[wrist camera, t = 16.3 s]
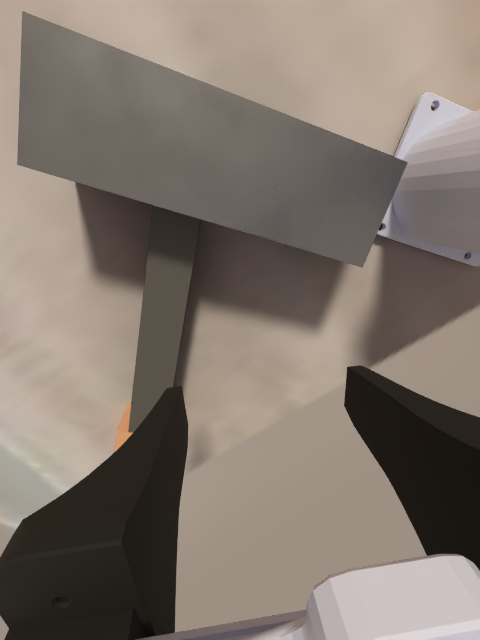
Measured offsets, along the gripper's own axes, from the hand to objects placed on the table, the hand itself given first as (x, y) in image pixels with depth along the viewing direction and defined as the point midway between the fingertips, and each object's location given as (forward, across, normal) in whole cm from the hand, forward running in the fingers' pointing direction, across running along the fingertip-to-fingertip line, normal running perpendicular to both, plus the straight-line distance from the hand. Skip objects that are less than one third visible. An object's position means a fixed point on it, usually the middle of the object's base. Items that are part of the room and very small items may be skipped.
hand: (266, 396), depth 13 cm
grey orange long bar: (+9, +6, +2) cm, 11 cm away
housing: (+9, +1, -9) cm, 13 cm away
